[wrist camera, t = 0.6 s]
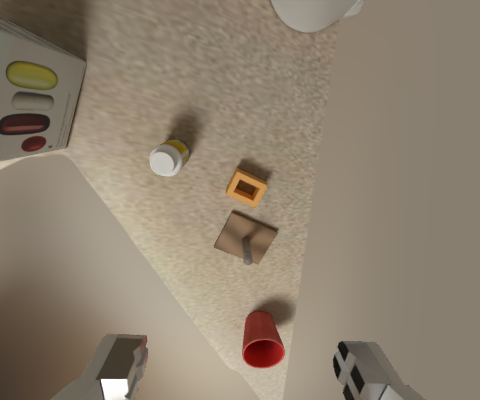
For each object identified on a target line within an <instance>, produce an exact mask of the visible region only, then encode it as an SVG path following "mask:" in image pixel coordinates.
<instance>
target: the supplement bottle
mask: <svg viewBox="0 0 480 400" xmlns="http://www.w3.org/2000/svg"><path fill="white" fill-rule="evenodd" d="M188 159H189V150H188V148H187V146H186V145H185V144H184V143H183V142H181V141H179V140H169V141H167V142H165V143H163V144H161V145H159V146H157V147H155V148H154V149H153V150H152V152H151V154H150V167H151V169H152V170H153V171H154V172H155V173H156V174H158V175H163V176H173V175H175V174H177V173H178V172H179V171H180V170H181V168H182V167H183V166H184V165H185V164H186V163H187V161H188Z"/></svg>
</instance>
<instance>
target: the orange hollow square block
mask: <svg viewBox="0 0 480 400" xmlns="http://www.w3.org/2000/svg"><path fill="white" fill-rule="evenodd" d="M239 180H242V181H245V182H247V183H249V184H251V185H253V186H255V187H256V188H255V190H254V192H253V194H252V195H250V194H248V193H246V192H244V191H242V190H239V189H237V188H236V186H237V184H238V182H239ZM267 187H268V185H267V183H266V181H264V180H262V179H260V178H258V177H256V176H254V175H251V174H249V173H247V172H245V171H243V170H241V169H239V168H236V170H235V172H234V174H233V176H232V178H231V180H230V182H229V184H228V186H227V188H226V195H228V196H230V197H232V198H234V199H237V200H239V201H241V202H243V203H246V204H248V205H250V206H252V207H255V208H256V206H257V205H258V203H259V201H260V199H261V197H262V196H263V194H264V192H265V190H266V188H267Z"/></svg>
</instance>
